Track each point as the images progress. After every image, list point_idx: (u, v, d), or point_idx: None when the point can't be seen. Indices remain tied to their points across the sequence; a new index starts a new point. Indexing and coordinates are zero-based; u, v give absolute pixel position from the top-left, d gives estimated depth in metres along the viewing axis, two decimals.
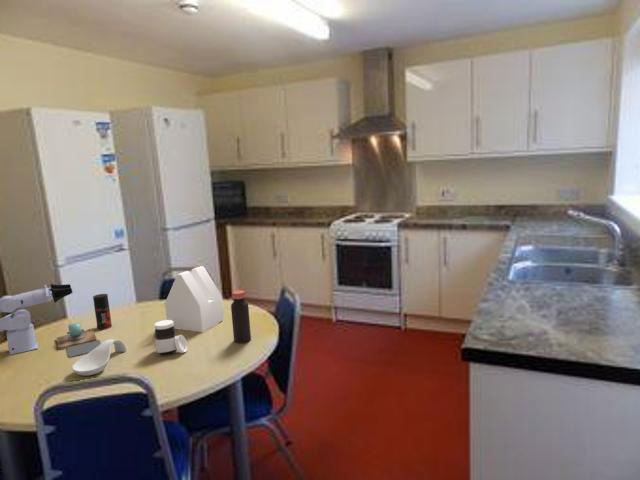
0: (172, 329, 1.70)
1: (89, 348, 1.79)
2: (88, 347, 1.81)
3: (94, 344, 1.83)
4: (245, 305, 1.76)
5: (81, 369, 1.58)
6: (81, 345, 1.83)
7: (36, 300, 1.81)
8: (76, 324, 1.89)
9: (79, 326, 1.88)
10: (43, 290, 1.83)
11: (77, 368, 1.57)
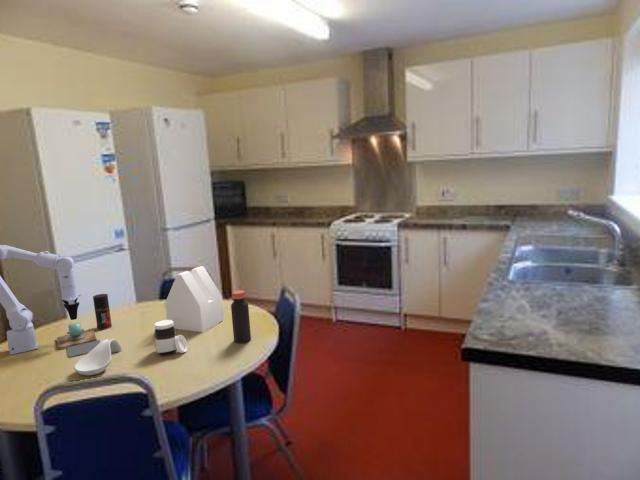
0: (172, 329, 1.70)
1: (89, 348, 1.79)
2: (88, 347, 1.81)
3: (94, 344, 1.83)
4: (245, 305, 1.76)
5: (83, 369, 1.57)
6: (81, 345, 1.83)
7: (66, 288, 1.83)
8: (76, 324, 1.89)
9: (79, 326, 1.88)
10: (76, 294, 1.86)
11: (79, 369, 1.56)
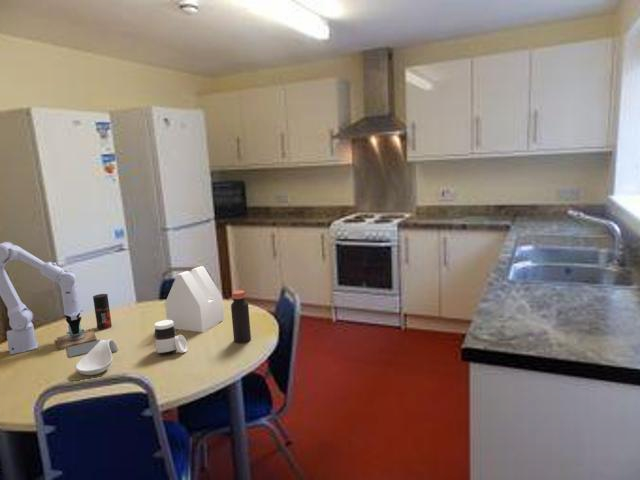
0: (172, 329, 1.70)
1: (89, 348, 1.79)
2: (88, 347, 1.81)
3: (94, 344, 1.83)
4: (245, 305, 1.76)
5: (84, 370, 1.57)
6: (81, 345, 1.83)
7: (69, 304, 1.84)
8: None
9: (79, 326, 1.88)
10: (78, 309, 1.87)
11: (80, 369, 1.56)
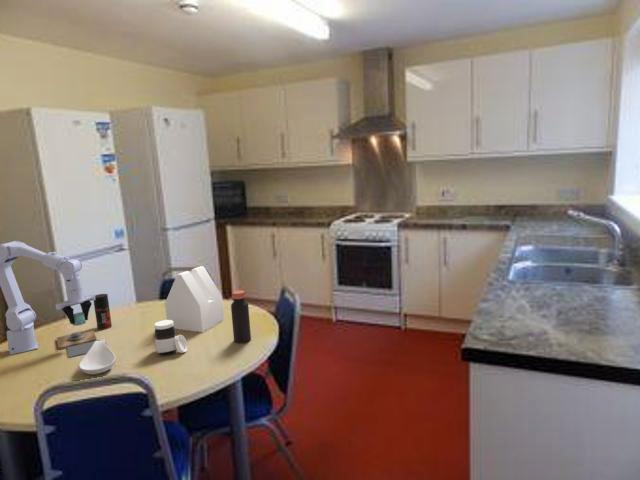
0: (172, 329, 1.70)
1: (89, 348, 1.79)
2: (88, 347, 1.81)
3: None
4: (245, 305, 1.76)
5: (87, 370, 1.57)
6: (81, 345, 1.83)
7: (66, 292, 1.77)
8: (78, 314, 1.80)
9: (76, 317, 1.78)
10: (74, 300, 1.77)
11: None
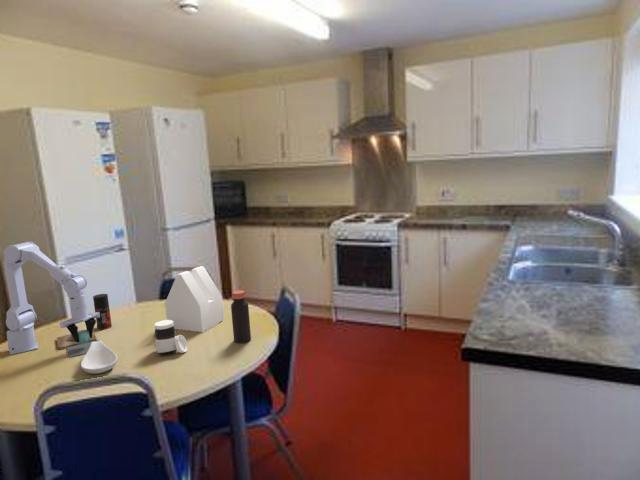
0: (172, 329, 1.70)
1: None
2: (88, 347, 1.81)
3: None
4: (245, 305, 1.76)
5: None
6: (81, 345, 1.83)
7: None
8: (82, 332, 1.78)
9: (80, 335, 1.77)
10: (78, 318, 1.75)
11: None
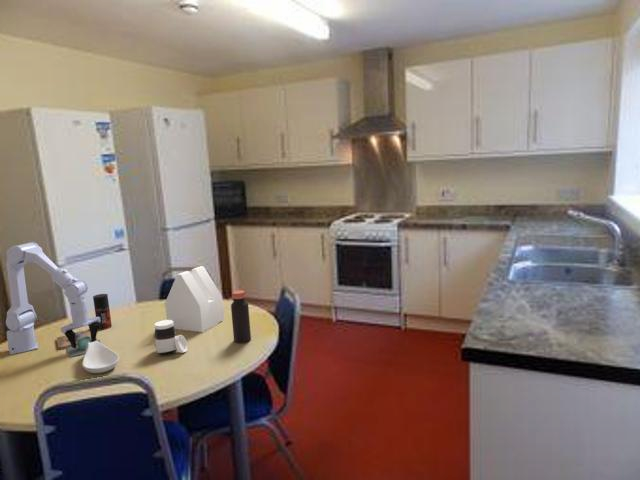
0: (172, 329, 1.70)
1: None
2: None
3: None
4: (245, 305, 1.76)
5: None
6: None
7: (71, 314, 1.76)
8: (83, 339, 1.78)
9: (81, 342, 1.77)
10: (79, 323, 1.75)
11: None
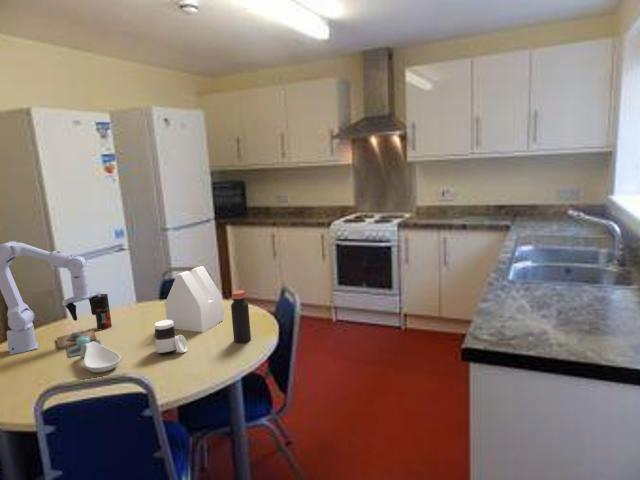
0: (172, 329, 1.70)
1: None
2: None
3: None
4: (245, 305, 1.76)
5: None
6: None
7: None
8: (83, 339, 1.78)
9: (81, 342, 1.77)
10: (80, 296, 1.82)
11: None
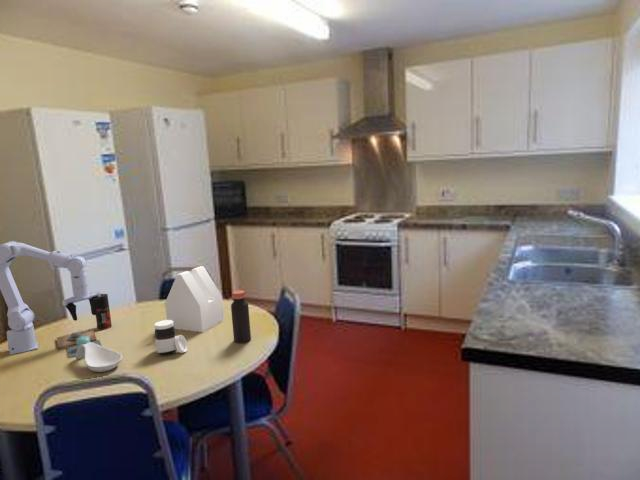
0: (172, 329, 1.70)
1: None
2: None
3: None
4: (245, 305, 1.76)
5: None
6: None
7: None
8: (83, 339, 1.78)
9: (80, 342, 1.77)
10: (80, 296, 1.82)
11: None
